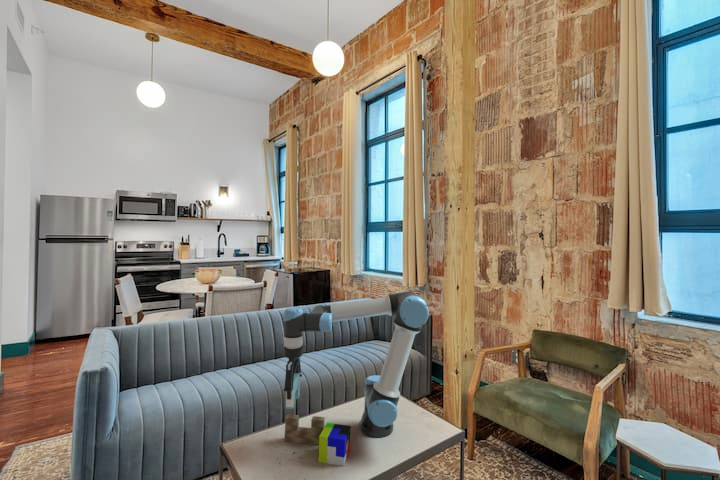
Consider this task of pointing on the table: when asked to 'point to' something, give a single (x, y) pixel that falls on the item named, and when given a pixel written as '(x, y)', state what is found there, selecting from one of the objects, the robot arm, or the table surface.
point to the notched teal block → (295, 389)
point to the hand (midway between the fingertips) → (293, 399)
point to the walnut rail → (303, 430)
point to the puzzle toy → (334, 444)
